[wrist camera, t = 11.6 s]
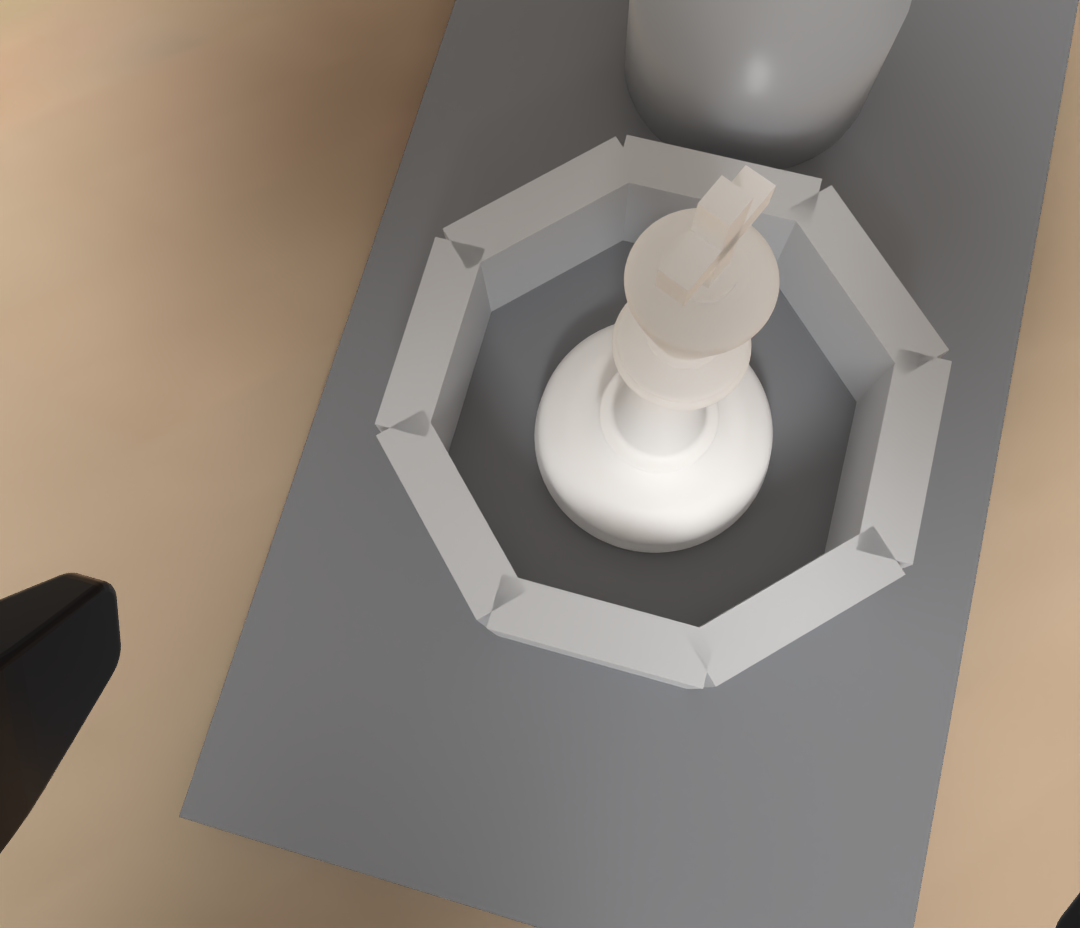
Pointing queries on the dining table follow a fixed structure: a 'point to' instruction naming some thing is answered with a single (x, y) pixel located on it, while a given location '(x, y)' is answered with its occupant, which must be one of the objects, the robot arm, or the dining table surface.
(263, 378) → the dining table surface
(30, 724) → the robot arm
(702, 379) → the chess piece
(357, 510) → the carrier plate
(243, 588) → the dining table surface
